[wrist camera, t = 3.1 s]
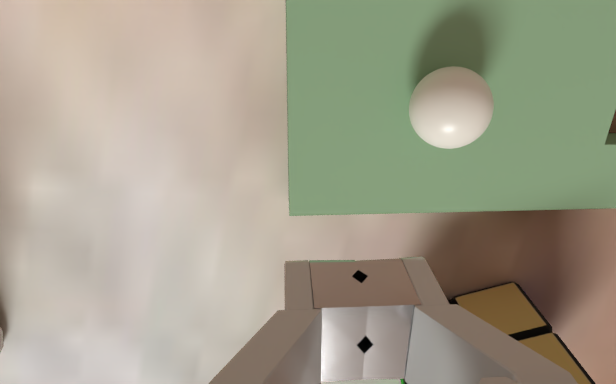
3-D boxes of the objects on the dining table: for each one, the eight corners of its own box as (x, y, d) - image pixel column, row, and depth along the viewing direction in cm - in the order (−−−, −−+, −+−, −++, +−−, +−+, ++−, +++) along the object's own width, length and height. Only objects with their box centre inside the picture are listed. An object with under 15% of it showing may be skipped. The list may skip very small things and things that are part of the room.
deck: (285, -51, 22) (285, -53, 20) (777, -46, 23) (818, -48, 22) (288, 200, 28) (289, 215, 26) (677, 192, 30) (703, 206, 28)
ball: (404, 60, 23) (427, 75, 19) (480, 59, 23) (517, 75, 19) (396, 134, 24) (416, 161, 21) (467, 133, 25) (499, 160, 21)
